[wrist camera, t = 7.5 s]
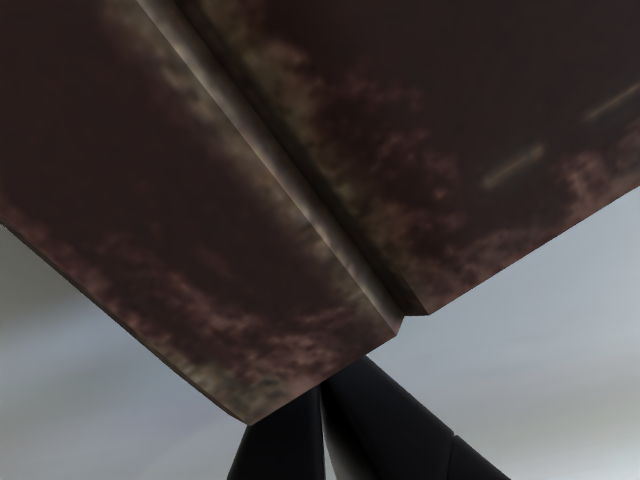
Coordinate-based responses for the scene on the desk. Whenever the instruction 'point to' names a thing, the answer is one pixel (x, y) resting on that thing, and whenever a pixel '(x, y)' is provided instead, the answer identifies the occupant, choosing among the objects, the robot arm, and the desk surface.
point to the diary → (304, 164)
